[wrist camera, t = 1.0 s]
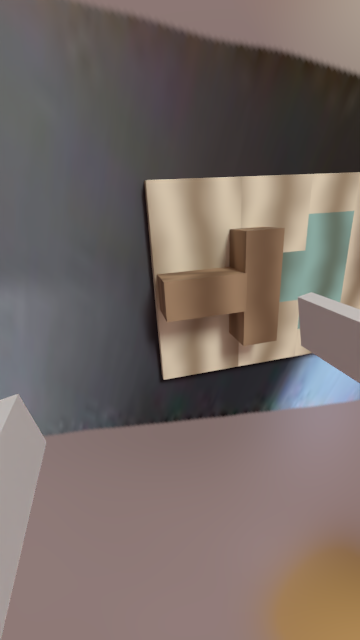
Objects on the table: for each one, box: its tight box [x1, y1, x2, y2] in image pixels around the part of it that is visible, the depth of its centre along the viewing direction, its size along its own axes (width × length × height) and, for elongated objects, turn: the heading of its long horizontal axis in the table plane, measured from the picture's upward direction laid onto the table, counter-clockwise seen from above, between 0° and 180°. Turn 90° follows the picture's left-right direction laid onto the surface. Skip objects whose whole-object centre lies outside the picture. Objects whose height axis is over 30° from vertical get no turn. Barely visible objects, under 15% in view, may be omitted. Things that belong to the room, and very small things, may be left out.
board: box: [144, 172, 360, 380], centre depth 34 cm, size 28×22×1 cm
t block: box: [157, 227, 285, 346], centre depth 30 cm, size 12×12×4 cm
